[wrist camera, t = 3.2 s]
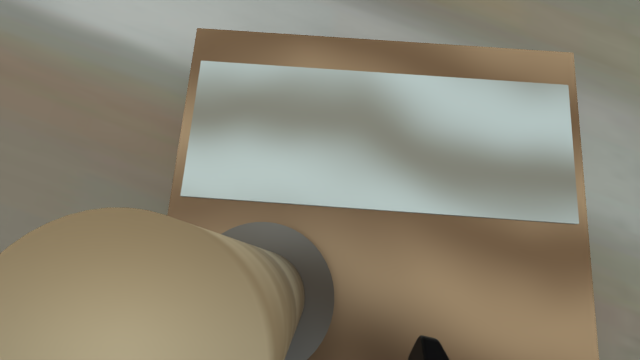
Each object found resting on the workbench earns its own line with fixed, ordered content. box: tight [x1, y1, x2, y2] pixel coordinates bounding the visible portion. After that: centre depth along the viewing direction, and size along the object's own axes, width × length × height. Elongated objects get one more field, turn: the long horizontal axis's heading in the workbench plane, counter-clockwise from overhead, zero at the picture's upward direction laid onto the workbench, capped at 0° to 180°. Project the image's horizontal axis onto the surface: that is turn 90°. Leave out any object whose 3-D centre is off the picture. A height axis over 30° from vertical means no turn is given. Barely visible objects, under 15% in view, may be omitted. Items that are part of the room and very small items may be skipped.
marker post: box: [0, 208, 334, 360], centre depth 10 cm, size 6×6×12 cm
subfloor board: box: [167, 28, 599, 360], centre depth 17 cm, size 17×18×1 cm
